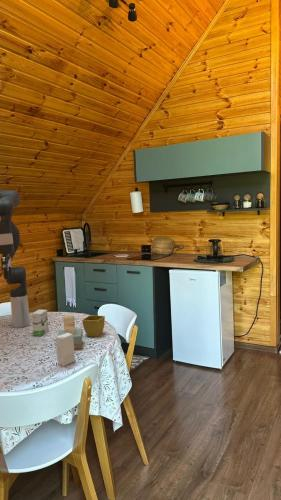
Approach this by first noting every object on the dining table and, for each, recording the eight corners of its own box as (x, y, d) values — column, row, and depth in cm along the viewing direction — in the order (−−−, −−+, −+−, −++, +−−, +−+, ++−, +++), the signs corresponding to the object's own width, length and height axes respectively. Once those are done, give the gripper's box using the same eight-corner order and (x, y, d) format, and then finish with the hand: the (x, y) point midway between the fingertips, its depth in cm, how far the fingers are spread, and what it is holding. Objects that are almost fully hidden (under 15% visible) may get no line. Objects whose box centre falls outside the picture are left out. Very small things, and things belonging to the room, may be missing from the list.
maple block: (65, 331, 179) (63, 315, 178) (75, 330, 179) (73, 314, 178) (64, 335, 174) (63, 318, 173) (74, 333, 175) (73, 317, 174)
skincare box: (68, 359, 162) (66, 331, 161) (75, 361, 160) (73, 333, 158) (57, 364, 158) (54, 336, 156) (64, 366, 155) (61, 338, 153)
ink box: (41, 336, 194) (40, 313, 192) (33, 336, 195) (31, 313, 193) (49, 330, 202) (47, 309, 201) (40, 330, 203) (38, 308, 202)
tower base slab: (58, 344, 182) (58, 337, 182) (81, 342, 184) (81, 335, 184) (58, 353, 171) (57, 345, 171) (82, 350, 173) (82, 342, 173)
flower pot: (90, 331, 197) (89, 314, 196) (106, 332, 194) (105, 315, 193) (82, 337, 189) (81, 319, 188) (98, 338, 186) (97, 320, 185)
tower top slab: (59, 337, 182) (59, 330, 182) (82, 335, 183) (82, 328, 183) (56, 345, 171) (56, 338, 171) (81, 343, 172) (80, 336, 172)
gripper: (10, 244, 172) (14, 279, 174) (15, 241, 186) (18, 273, 188) (-7, 245, 171) (-3, 280, 173) (-1, 242, 185) (2, 275, 187)
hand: (7, 277), depth 180 cm, fingers open, 8 cm apart
